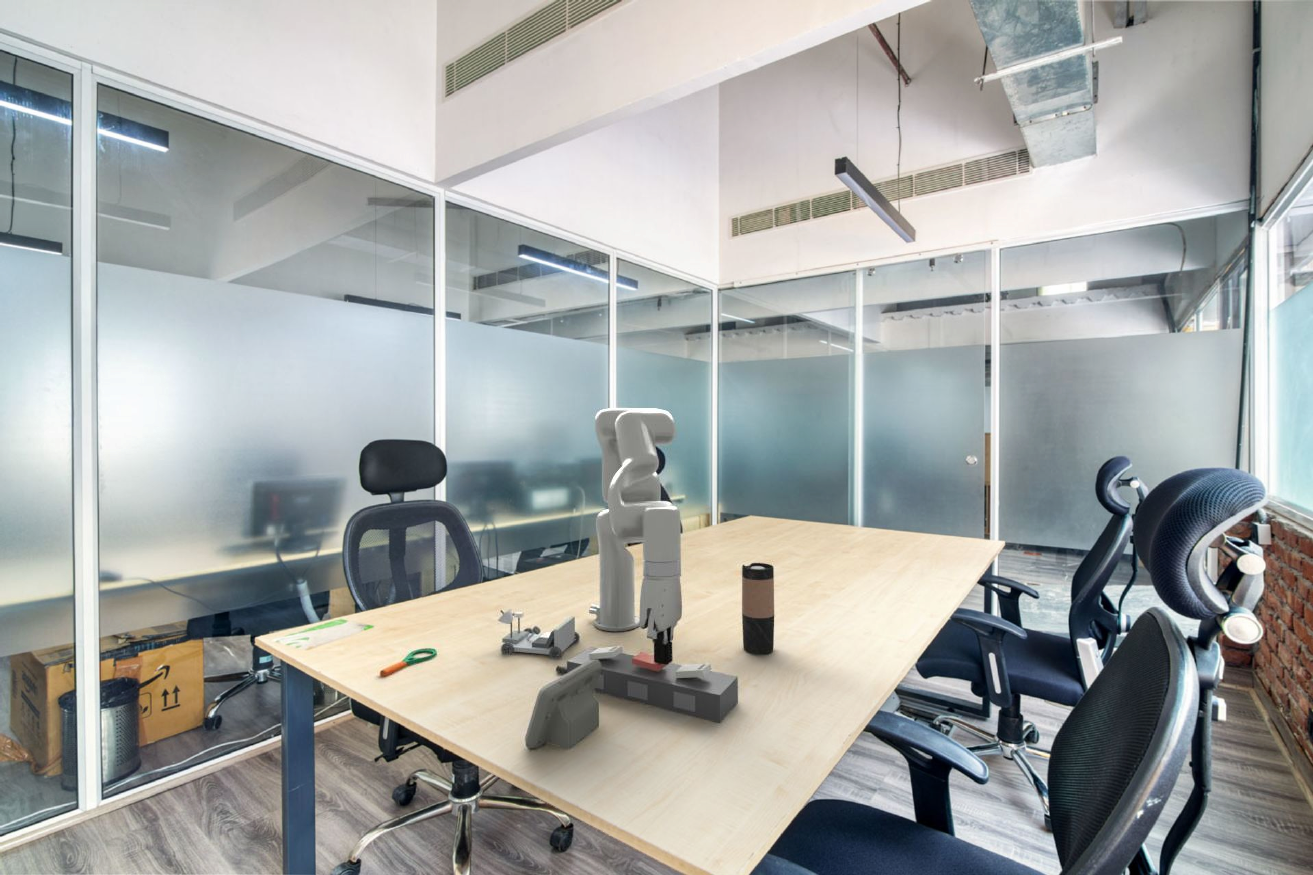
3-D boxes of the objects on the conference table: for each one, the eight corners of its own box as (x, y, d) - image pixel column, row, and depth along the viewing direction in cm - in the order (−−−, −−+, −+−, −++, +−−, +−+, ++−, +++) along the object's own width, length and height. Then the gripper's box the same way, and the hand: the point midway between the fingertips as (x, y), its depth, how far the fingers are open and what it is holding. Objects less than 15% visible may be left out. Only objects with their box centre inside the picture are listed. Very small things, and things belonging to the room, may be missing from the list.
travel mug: (774, 656, 135) (774, 570, 135) (741, 654, 136) (740, 569, 136) (774, 644, 142) (774, 563, 142) (743, 642, 144) (742, 562, 144)
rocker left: (590, 659, 120) (588, 653, 121) (599, 653, 124) (598, 647, 124) (613, 657, 118) (612, 651, 118) (622, 651, 121) (621, 645, 121)
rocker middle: (631, 663, 116) (632, 657, 115) (641, 657, 119) (641, 651, 119) (658, 671, 113) (658, 665, 113) (666, 665, 116) (667, 658, 116)
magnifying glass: (422, 651, 140) (422, 644, 140) (442, 654, 138) (442, 647, 138) (372, 676, 126) (372, 668, 126) (394, 680, 124) (394, 672, 124)
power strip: (543, 679, 123) (543, 656, 123) (570, 664, 131) (569, 642, 131) (719, 723, 103) (719, 695, 103) (737, 702, 112) (737, 676, 112)
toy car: (490, 613, 138) (514, 600, 150) (491, 654, 138) (514, 638, 150) (560, 618, 134) (579, 604, 145) (560, 661, 134) (579, 643, 145)
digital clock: (584, 708, 110) (583, 652, 110) (618, 723, 104) (617, 664, 104) (512, 742, 98) (511, 679, 98) (545, 762, 92) (545, 695, 92)
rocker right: (676, 678, 111) (674, 671, 111) (684, 671, 114) (682, 664, 114) (704, 676, 108) (702, 669, 108) (711, 669, 111) (710, 662, 111)
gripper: (662, 560, 123) (663, 647, 122) (625, 574, 109) (627, 672, 109) (695, 563, 119) (696, 652, 119) (661, 577, 106) (662, 679, 105)
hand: (663, 661), depth 114 cm, fingers closed
